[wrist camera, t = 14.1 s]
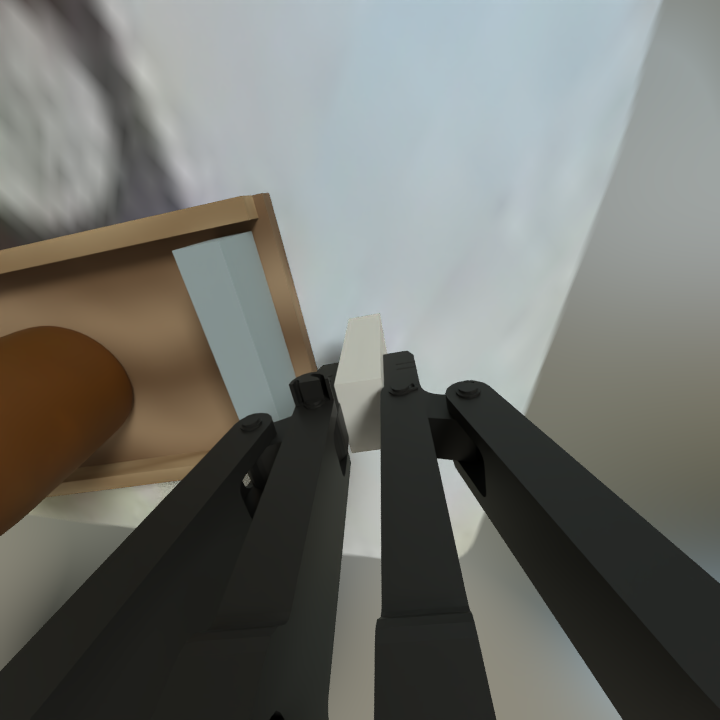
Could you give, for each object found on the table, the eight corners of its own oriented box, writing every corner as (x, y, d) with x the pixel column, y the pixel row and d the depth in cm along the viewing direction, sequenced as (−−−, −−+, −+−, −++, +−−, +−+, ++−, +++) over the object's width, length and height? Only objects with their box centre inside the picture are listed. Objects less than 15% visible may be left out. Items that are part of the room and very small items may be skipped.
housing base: (-94, 274, 21) (-154, 285, 18) (269, 193, 18) (252, 193, 16) (48, 473, 27) (16, 500, 25) (335, 434, 24) (330, 461, 22)
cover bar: (213, 238, 18) (171, 250, 14) (251, 230, 18) (218, 240, 14) (281, 434, 23) (263, 480, 19) (312, 430, 23) (299, 476, 19)
